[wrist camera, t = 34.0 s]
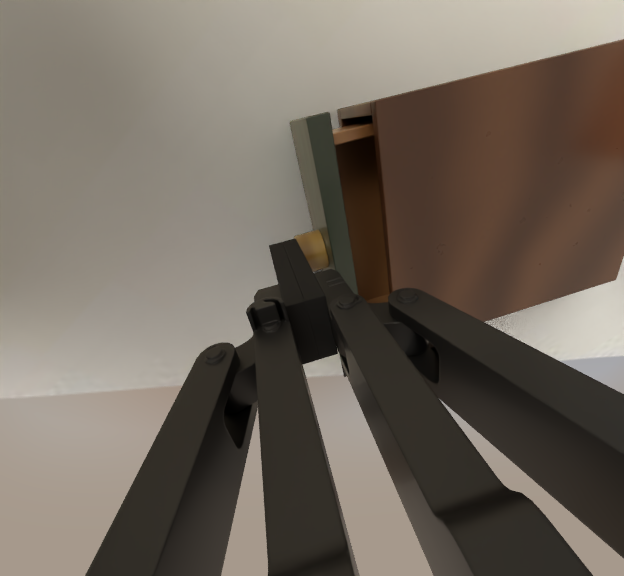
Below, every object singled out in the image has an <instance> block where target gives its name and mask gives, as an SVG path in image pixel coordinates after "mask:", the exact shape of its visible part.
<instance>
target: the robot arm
mask: <svg viewBox="0 0 624 576" xmlns="http://www.w3.org/2000/svg"><path fill="white" fill-rule="evenodd" d="M269 248H270V252H271V256H272V260H273V264H274V268H275V272H276V276H277V280H278V285H275V286H271V287H267V288H264V289H260V290H258V291H257V293H256V295H255V296H254V301H255V302H254V303H252V304H251V305H250V306H249V307H248V308H247V311H246V314H247V316H248V319H249V322H250V324H251V327H252V329H253V336H252V338H250V339H249V340H248V341H247V342H245V343H243V344H242V345H240V346H238V347H236V348H234V346H233V344H230V343H218V344H214V345H212V346H210V347H208V348H206V349H205V350H204V351H203V352H201V353H200V355H199V356H198V357H197V359H196V361H195V363H194V365H193V367H192V369H191V371H190V373H189V374H188V376H187V378H186V380H185V382H184V384H183V386H182V388H181V390H180V392H179V394H178V396H177V398H176V400H175V402H174V404H173V406H172V408H171V410H170V412H169V413H168V415H167V417H166V419H165V421H164V423H163V425H162V427H161V429H160V431H159V433H158V435H157V437H156V439H155V441H154V443H153V445H152V447H151V449H150V450H149V452H148V454H147V457H146V459H145V460H144V462H143V464H142V466H141V468H140V470H139V472H138V474H137V476H136V478H135V480H134V482H133V484H132V486H131V487H130V490H129V491H128V493H127V495H126V497H125V499H124V501H123V503H122V505H121V507H120V509H119V511H118V513H117V515H116V517H115V519H114V521H113V523H112V525H111V527H110V528H109V530H108V532H107V534H106V536H105V538H104V540H103V542H102V544H101V546H100V548H99V550H98V552H97V554H96V556H95V558H94V560H93V562H92V564H91V565H90V567H89V569H88V571H87V573H86V575H85V576H221V572H222V568H223V563H224V559H225V554H226V549H227V545H228V541H229V536H230V531H231V526H232V522H233V518H234V513H235V508H236V504H237V499H238V495H239V489H240V486H241V481H242V476H243V472H244V467H245V463H246V458H247V453H248V449H249V444H250V440H251V435H252V430H253V426H254V421H255V416H256V412H257V408H258V413H259V429H260V443H261V460H262V476H263V491H264V506H265V522H266V537H267V554H268V576H359V573H358V569H357V565H356V561H355V558H354V554H353V550H352V546H351V543H350V539H349V535H348V532H347V528H346V524H345V520H344V517H343V513H342V509H341V506H340V502H339V499H338V494H337V491H336V487H335V483H334V480H333V476H332V472H331V468H330V465H329V461H328V457H327V454H326V450H325V446H324V442H323V439H322V435H321V431H320V428H319V424H318V420H317V416H316V413H315V409H314V405H313V402H312V398H311V394H310V390H309V387H308V383H307V379H306V375H305V372H304V369H303V365H302V364H306V363H309V362H312V361H315V360H319V359H322V358H325V357H328V356H332V355H335V354H338V352H337V349H338V351H339V354H340V359H341V364H342V368H343V373H344V377H346V376H347V377H348V379H349V381H350V384H351V386H352V388H353V390H354V393H355V395H356V397H357V400H358V402H359V404H360V407H361V409H362V411H363V414H364V416H365V418H366V421H367V423H368V425H369V427H370V430H371V432H372V434H373V437H374V439H375V441H376V444H377V446H378V448H379V451H380V453H381V455H382V457H383V460H384V462H385V464H386V467H387V469H388V471H389V474H390V476H391V478H392V480H393V483H394V485H395V487H396V490H397V492H398V494H399V497H400V499H401V501H402V504H403V505H404V508H405V510H406V513H407V515H408V517H409V520H410V522H411V524H412V526H413V529H414V531H415V533H416V536H417V538H418V540H419V543H420V545H421V547H422V550H423V552H424V554H425V556H426V558H427V561H428V563H429V566H430V568H431V570H432V573H433V575H434V576H593V575H592V574H591V572H590V571H589V570H588V569H587V568H586V566H585V565H584V564H583V563H582V561H581V560H580V559H579V557H578V556H577V555H576V554H575V552H574V551H573V550H572V549H571V547H570V546H569V545H568V544H567V542H566V541H565V540H564V538H563V537H562V536H561V535H560V533H559V532H558V531H557V530H556V528H555V527H554V526H553V525H552V523H551V522H550V521H549V520H548V518H547V517H546V516H545V515H544V514H543V513H542V511H541V510H540V509H539V508H538V507H537V506H536V505H535V504H534V503H533V501H531V500H530V499H529V498H527V497H526V496H525V495H524V494H522V493H520V492H516V491H512V490H509V489H508V488H507V487H506V486H504V485H503V484H502V483H501V481H500V480H499V479H498V478H497V476H496V475H495V474H494V472H493V471H492V470H491V468H490V467H489V466H488V464H487V463H486V461H485V460H484V459H483V457H482V456H481V455H480V453H479V452H478V451H477V450H476V448H475V447H474V445H473V444H472V443H471V441H470V440H469V439H468V437H467V436H466V435H465V433H464V432H463V431H462V429H461V428H460V427H459V425H458V424H457V423H456V421H455V420H454V419H453V417H452V416H451V414H450V413H449V412H448V410H447V409H446V408H445V406H444V405H443V404H442V403H441V401H440V400H442V401H443V402H444V403H445V404H446V405H447V406H448V407H450V408H451V409H452V410H453V411H454V412H456V413H457V414H458V415H459V416H460V417H461V418H462V419H463V420H465V421H466V422H467V423H468V424H469V425H470V426H472V427H473V428H474V429H475V430H476V431H477V432H478V433H480V434H481V435H482V436H483V437H484V438H485V439H487V440H488V441H489V442H490V443H491V444H492V445H493V446H495V447H496V448H497V449H498V450H499V451H500V452H502V453H503V454H504V455H505V456H506V457H507V458H509V459H510V460H511V461H512V462H513V463H514V464H515V465H517V466H518V467H519V468H520V469H521V470H522V471H524V472H525V473H526V474H527V475H528V476H529V477H530V478H532V479H533V480H534V481H535V482H536V483H537V484H538V485H540V486H541V487H542V488H543V489H544V490H545V491H547V492H548V493H549V494H550V495H551V496H552V497H554V498H555V499H556V500H557V501H558V502H559V503H560V504H562V505H563V506H564V507H565V508H566V509H567V510H568V511H570V512H571V513H572V514H573V515H574V516H575V517H577V518H578V519H579V520H580V521H581V522H582V523H583V524H585V525H586V526H587V527H588V528H589V529H590V530H592V531H593V532H594V533H595V534H596V535H597V536H598V537H600V538H601V539H602V540H603V541H604V542H605V543H607V544H608V545H609V546H610V547H611V548H613V550H615V551H616V552H617V553H618V554H619V555H620V556H622V557H623V558H624V394H622V393H620V392H618V391H616V390H614V389H612V388H610V387H608V386H606V385H604V384H602V383H601V382H598V381H597V380H595V379H593V378H591V377H589V376H587V375H585V374H583V373H581V372H579V371H577V370H575V369H573V368H571V367H569V366H567V365H566V364H564V363H562V362H560V361H558V360H556V359H554V358H552V357H550V356H548V355H546V354H544V353H542V352H540V351H538V350H537V349H535V348H533V347H531V346H529V345H527V344H525V343H523V342H521V341H519V340H517V339H515V338H513V337H511V336H509V335H507V334H505V333H504V332H502V331H500V330H498V329H496V328H494V327H492V326H490V325H488V324H486V323H484V322H482V321H480V320H478V319H476V318H474V317H472V316H471V315H469V314H467V313H465V312H463V311H461V310H459V309H457V308H455V307H453V306H451V305H449V304H447V303H445V302H443V301H441V300H439V299H438V298H436V297H434V296H432V295H430V294H428V293H426V292H424V291H422V290H419V289H416V288H401V289H398V290H395V291H393V292H392V293H390V295H389V296H388V302H383V303H367V301H366V300H365V299H364V298H363V297H362V296H360V295H356V294H354V293H353V291H352V290H351V289H350V287H349V286H348V284H347V283H346V282H345V280H344V279H343V278H342V276H341V275H340V273H339V272H338V271H335V270H333V269H328V270H325V271H321V272H318V273H313V271H312V269H311V267H310V265H309V263H308V261H307V259H306V257H305V255H304V253H303V251H302V250H301V248H300V246H299V244H298V242H297V240H296V239H292V240H288V241H284V242H281V243H277V244H273V245H270V246H269ZM336 346H337V347H336ZM439 399H440V400H439Z"/></svg>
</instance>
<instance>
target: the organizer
mask: <svg viewBox="0 0 624 576" xmlns="http://www.w3.org/2000/svg"><path fill="white" fill-rule="evenodd" d="M337 112H338V118H339V125H340V127H344V126H348V125H352V124H356V123H360V122H364V121H368V120H372V119H373V129H374V140H375V150H376V160H377V170H378V180H379V190H380V201H381V211H382V221H383V231H384V241H385V251H386V262H387V272H388V282H389V292H390V293H392V292H393V291H395V290H398V289H401V288H416V289H419V290H422V291H424V292H426V293H428V294H430V295H432V296H434V297H436V298H438V299H439V300H441V301H443V302H445V303H447V304H449V305H451V306H453V307H455V308H457V309H459V310H461V311H463V312H465V313H467V314H469V315H471V316H472V317H474V318H476V319H478V320H480V321H482V322H485V321H488V320H491V319H494V318H498V317H501V316H504V315H507V314H510V313H513V312H516V311H519V310H523V309H526V308H529V307H532V306H535V305H538V304H541V303H544V302H548V301H551V300H554V299H557V298H560V297H563V296H566V295H570V294H573V293H576V292H579V291H582V290H585V289H588V288H591V287H595V286H598V285H601V284H604V283H607V282H610V281H613V280H616V278H617V275H618V272H619V269H620V265H621V262H622V259H623V256H624V39H623V40H618V41H614V42H610V43H606V44H602V45H598V46H594V47H590V48H586V49H582V50H577V51H573V52H569V53H565V54H561V55H557V56H553V57H549V58H545V59H541V60H537V61H533V62H529V63H524V64H520V65H516V66H512V67H508V68H504V69H500V70H496V71H492V72H488V73H484V74H480V75H476V76H471V77H467V78H463V79H459V80H455V81H451V82H447V83H443V84H439V85H435V86H431V87H427V88H423V89H418V90H414V91H410V92H406V93H402V94H398V95H394V96H390V97H386V98H382V99H378V100H374V101H370V102H366V103H361V104H357V105H353V106H349V107H345V108H341V109H338V110H337Z"/></svg>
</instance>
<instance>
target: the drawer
mask: <svg viewBox="0 0 624 576" xmlns="http://www.w3.org/2000/svg"><path fill="white" fill-rule="evenodd" d="M290 127H291V131H292V136H293V140H294V145H295V150H296V154H297V159H298V163H299V168H300V172H301V177H302V181H303V186H304V191H305V195H306V200H307V204H308V209H309V213H310V218H311V223H312V227H313V231H310V232H307V233H303V234H300V235H296V236H294V239H296V240H297V242H298V244H299V246H300V248H301V250H302V251H303V253H304V255H305V257H306V259H307V261H308V263H309V265H310V267H311V269H312V271H313V272H314V271H317V270H320V269H322V271H325V270H328V269H333V270H335V271H338V272H339V273H340V275H341V276H342V278H343V279H344V280H345V282H346V283H347V284H348V286H349V287H350V289H351V290H352V291H353V293H354V294H356V295H360V296H362V297H363V298H364V299H365V300H366V301H367V303H383V302H388V296H389V295H390V292H389V282H388V272H387V262H386V251H385V241H384V231H383V221H382V211H381V201H380V190H379V180H378V170H377V160H376V150H375V140H374V129H373V119H372V120H368V121H364V122H360V123H356V124H352V125H348V126H344V127H340V128H336V129H333V130H332V125H331V118H330V113H329V112H325V113H321V114H317V115H313V116H309V117H304V118H300V119H296V120H292V121H290Z"/></svg>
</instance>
